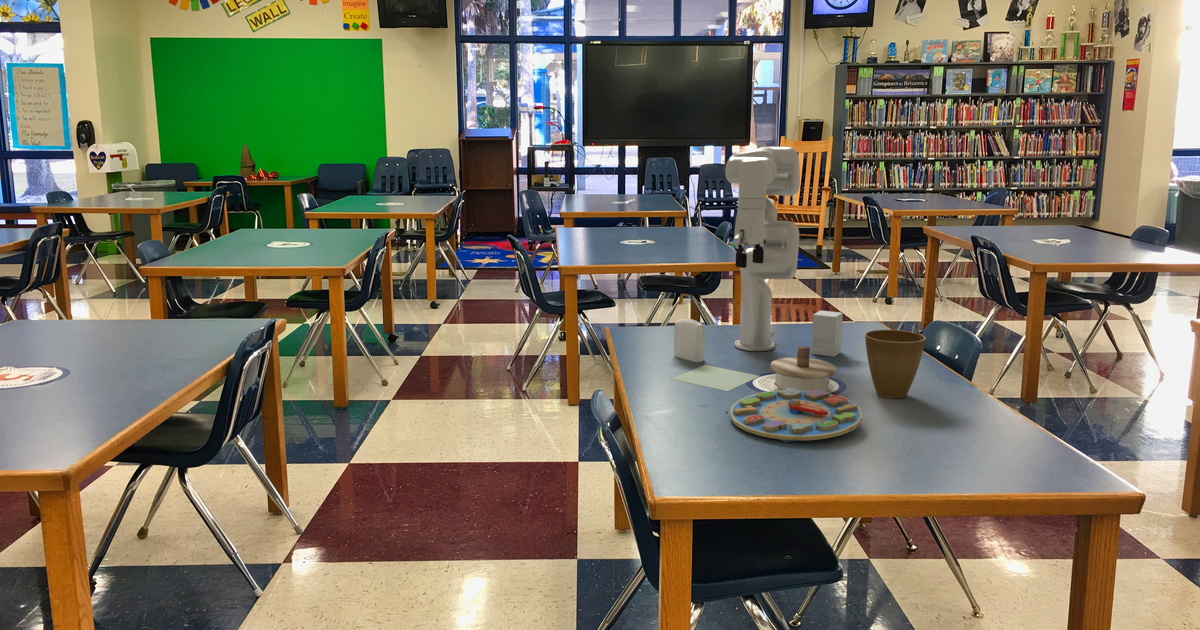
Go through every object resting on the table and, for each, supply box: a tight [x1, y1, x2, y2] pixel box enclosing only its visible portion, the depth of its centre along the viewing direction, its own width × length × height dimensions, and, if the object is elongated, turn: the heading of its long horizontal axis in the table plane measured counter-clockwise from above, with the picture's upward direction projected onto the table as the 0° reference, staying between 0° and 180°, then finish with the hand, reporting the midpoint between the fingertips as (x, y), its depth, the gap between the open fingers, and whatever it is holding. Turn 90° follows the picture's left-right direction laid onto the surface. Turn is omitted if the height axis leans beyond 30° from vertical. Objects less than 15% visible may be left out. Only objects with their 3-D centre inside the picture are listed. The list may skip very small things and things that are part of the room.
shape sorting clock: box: [729, 388, 863, 443], centre depth 209 cm, size 31×30×6 cm
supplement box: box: [810, 310, 844, 358], centre depth 271 cm, size 7×7×13 cm
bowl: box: [774, 373, 831, 392], centre depth 237 cm, size 13×13×5 cm
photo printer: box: [673, 318, 706, 363], centre depth 263 cm, size 10×4×12 cm, turn 39°
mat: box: [670, 364, 761, 392], centre depth 244 cm, size 18×18×1 cm
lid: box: [769, 345, 837, 379], centre depth 236 cm, size 17×17×6 cm
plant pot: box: [864, 329, 926, 399], centre depth 230 cm, size 15×15×16 cm
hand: (749, 265), depth 249 cm, fingers open, 9 cm apart
